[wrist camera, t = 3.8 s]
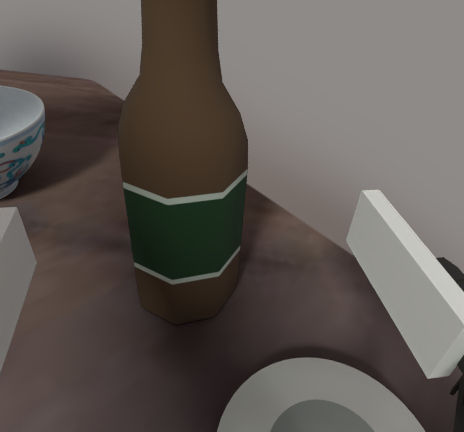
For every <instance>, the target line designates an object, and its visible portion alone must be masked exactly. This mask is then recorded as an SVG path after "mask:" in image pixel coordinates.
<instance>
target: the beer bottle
mask: <svg viewBox="0 0 464 432" xmlns="http://www.w3.org/2000/svg"><path fill="white" fill-rule="evenodd" d="M141 14H142V52H141V64H140V75H139V77H138V79H137V80H136V82H135V84H134V85H133V88H132V89H131V91H130V92H129V94H128V96H127V97H126V99H125V101H124V103H123V107H122V112H121V116H120V120H119V124H118V144H119V158H120V166H121V173H122V181H123V188H124V195H125V202H126V209H127V216H128V224H129V231H130V238H131V245H132V252H133V259H134V266H135V273H136V280H137V287H138V293H139V297H140V302H141V306H142V307H143V308H144V309H146V310H148V311H150V312H152V313H154V314H156V315H158V316H159V317H161V318H163V319H165V320H167V321H169V322H171V323H173V324H175V325H178V324H183V323H188V322H193V321H198V320H202V319H207V318H212V317H215V316H216V314H217V313H218V312H219V310H220V309H221V307H222V306H223V305H224V303H225V302H226V300H227V299H228V298H229V296H230V295H231V294H232V292H233V291H234V289H235V286H236V280H237V275H238V266H239V255H240V245H241V234H242V224H243V213H244V203H245V192H246V181H247V171H248V139H247V136H246V132H245V129H244V125H243V122H242V118H241V115H240V112H239V110H238V109H237V107H236V105H235V104H234V102H233V100H232V98H231V96H230V95H229V93H228V91H227V89H226V88H225V86H224V84H223V83H222V75H221V68H220V60H219V53H218V27H217V26H218V25H217V0H141Z"/></svg>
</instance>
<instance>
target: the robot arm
mask: <svg viewBox="0 0 464 432" xmlns="http://www.w3.org/2000/svg"><path fill="white" fill-rule="evenodd" d="M346 242H347V244H348V246H349V247H350V249H351V251H352V252H353V254H354V256H355V257H356V259H357V261H358V262H359V264H360V266H361V267H362V269H363V271H364V272H365V274H366V276H367V278H368V279H369V281H370V283H371V284H372V286H373V288H374V289H375V291H376V293H377V294H378V296H379V298H380V299H381V301H382V303H383V304H384V306H385V308H386V310H387V311H388V313H389V315H390V316H391V318H392V320H393V321H394V323H395V325H396V326H397V328H398V330H399V331H400V333H401V335H402V336H403V338H404V340H405V341H406V343H407V345H408V347H409V348H410V350H411V352H412V353H413V355H414V357H415V358H416V360H417V362H418V363H419V365H420V367H421V368H422V370H423V372H424V373H425V375H426V377H427V379H430V378H437V377H444V376H449V375H450V374H451V373H452V371H453V370H454V369H455V367H456V366H457V365H458V367H459V368H460V370H461V371H462V373H463V375H462V377H461V378H460V379H459V380H458V382H457V383H456V384H455V385H454V387H453V388H452V390H451V392H450V394H451V395H454V394H455V393H456V392H457V390H458V399H457V407H456V416H455V424H454V432H464V274H463V273H462V272H461V271H460V269H459V268H458V267H456V266H455V265H453V264H452V263H451V262H449V261H448V260H446V259H445V258H444V257H442V258H435V257H434V256H433V254H431V252H430V251H429V250H428V248H427V247H426V246H425V245H424V243H423V242H422V241H421V240H420V239H419V237H417V235H416V234H415V233H414V231H413V230H412V229H411V228H410V226H409V225H408V224H407V223H406V222H405V220H404V219H403V218H402V217H401V216H400V215H399V213H398V212H397V211H396V210H395V208H394V207H393V206H392V205H391V203H389V201H388V200H387V199H386V197H385V196H384V195H383V194H382V193H381V191H380V190H364V191H362V192H361V195H360V198H359V201H358V204H357V208H356V211H355V214H354V217H353V220H352V223H351V226H350V230H349V233H348V236H347V239H346ZM36 264H37V262H36V259H35V256H34V254H33V251H32V248H31V245H30V242H29V240H28V237H27V234H26V231H25V228H24V226H23V223H22V220H21V217H20V215H19V212H18V209H17V207H6V208H0V373H1V369H2V366H3V363H4V360H5V357H6V354H7V351H8V348H9V345H10V342H11V339H12V336H13V333H14V330H15V327H16V324H17V321H18V318H19V315H20V312H21V309H22V306H23V303H24V300H25V297H26V294H27V291H28V288H29V285H30V282H31V279H32V276H33V273H34V270H35V267H36Z"/></svg>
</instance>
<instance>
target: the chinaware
mask: <svg viewBox="0 0 464 432" xmlns="http://www.w3.org/2000/svg"><path fill="white" fill-rule="evenodd" d="M44 130H45V108H44V104H43V102H42V100H41V99H40V98H39V97H37V96H36V95H34V94H33V93H30V92H28V91H25V90H22V89H18V88H13V87H7V86H0V199H2V198H3V197H5V196H7V195H8V194H10V193H11V192H12V191H13V190H14V189H15V188H16V187H17V185H18V179H19V178H20V177H21V176H22V175H23V174H24V173H25V172H26V171H27V170H28V169H29V168H30V167H31V165H32V164H33V162H34V161H35V159H36V157H37V155H38V153H39V151H40V148H41V145H42V142H43V137H44Z"/></svg>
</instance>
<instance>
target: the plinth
mask: <svg viewBox="0 0 464 432" xmlns="http://www.w3.org/2000/svg"><path fill="white" fill-rule="evenodd" d="M217 432H425V430H424V429H423V427H422V426H421V425H420V423H419V422H418V421H417V419H416V418H415V416H414V415H413V414H412V413H411V412H410V411H409V409H408V408H407V407H406V406H405V405H404V404H403V403H402V402H401V401H400V400H399V399H398V398H397V397H396V396H395V395H394V394H393V393H392V392H391V391H389V390H388V389H387V388H386V387H384V386H383V385H382V384H381V383H379V382H378V381H376V380H375V379H373V378H371V377H370V376H368V375H367V374H365V373H363V372H361V371H359V370H357V369H355V368H353V367H350V366H348V365H345V364H342V363H339V362H335V361H332V360H327V359H321V358H308V357H305V358H293V359H288V360H283V361H280V362H277V363H274V364H271V365H269V366H267V367H265V368H263V369H261V370H260V371H258V372H257V373H255V374H254V375H252V376H251V377H250V378H249V379H248V380H246V381H245V382H244V383H243V384H242V385H241V386H240V388H239V389H238V390H237V391H236V392H235V393H234V395H233V397H232V398H231V400H230V401H229V403H228V404H227V406H226V409H225V411H224V413H223V415H222V417H221V420H220V423H219V426H218V430H217Z"/></svg>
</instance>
